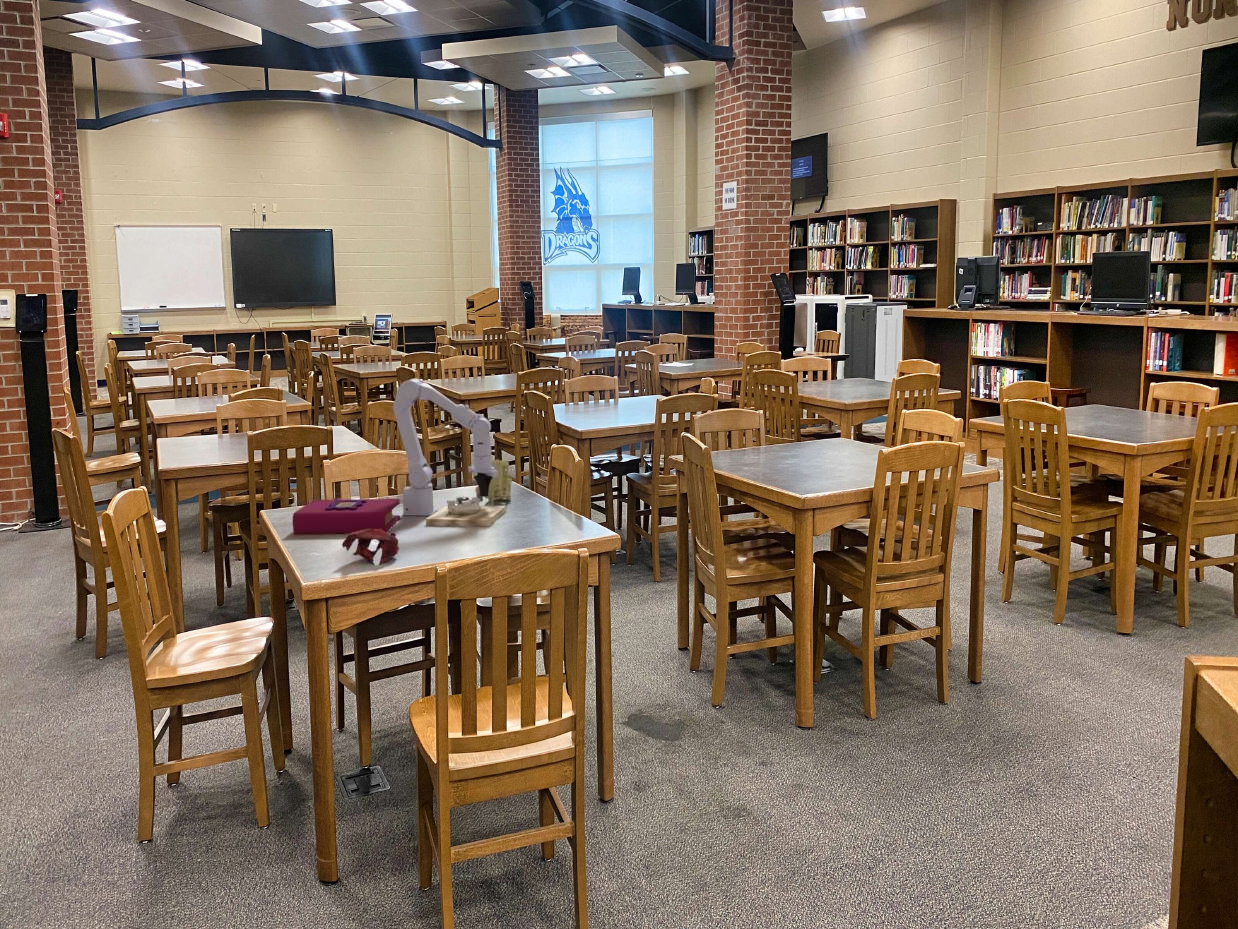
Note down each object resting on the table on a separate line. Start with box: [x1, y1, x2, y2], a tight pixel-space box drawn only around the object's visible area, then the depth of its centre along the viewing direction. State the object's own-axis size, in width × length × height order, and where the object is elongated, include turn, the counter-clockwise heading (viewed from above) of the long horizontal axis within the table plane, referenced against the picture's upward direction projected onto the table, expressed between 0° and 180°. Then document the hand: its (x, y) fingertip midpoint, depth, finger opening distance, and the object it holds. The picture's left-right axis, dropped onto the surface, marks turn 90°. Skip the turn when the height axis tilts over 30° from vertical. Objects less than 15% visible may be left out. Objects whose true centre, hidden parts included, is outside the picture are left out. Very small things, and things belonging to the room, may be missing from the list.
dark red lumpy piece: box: [341, 529, 400, 566], centre depth 261 cm, size 15×13×9 cm
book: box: [292, 498, 402, 535], centre depth 303 cm, size 21×28×8 cm
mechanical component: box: [484, 459, 513, 506], centre depth 337 cm, size 8×17×20 cm, turn 175°
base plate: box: [425, 504, 507, 527], centre depth 312 cm, size 20×21×2 cm
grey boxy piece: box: [446, 486, 484, 515], centre depth 314 cm, size 16×10×6 cm, turn 157°
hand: (484, 496), depth 319 cm, fingers closed
